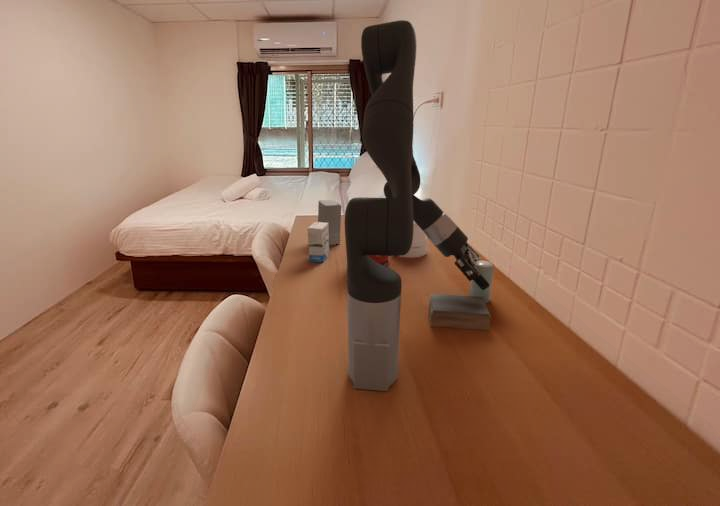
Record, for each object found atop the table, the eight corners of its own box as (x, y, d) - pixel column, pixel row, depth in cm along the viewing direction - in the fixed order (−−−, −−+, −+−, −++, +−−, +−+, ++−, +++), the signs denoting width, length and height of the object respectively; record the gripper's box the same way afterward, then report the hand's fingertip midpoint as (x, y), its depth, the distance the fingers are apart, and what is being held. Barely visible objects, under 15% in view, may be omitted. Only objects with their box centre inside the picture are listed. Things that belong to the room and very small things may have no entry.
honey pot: (426, 258, 126) (430, 206, 120) (388, 256, 128) (390, 205, 122) (426, 246, 138) (429, 198, 132) (391, 244, 140) (393, 197, 134)
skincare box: (317, 240, 144) (315, 200, 139) (334, 238, 147) (333, 198, 142) (324, 247, 137) (323, 205, 132) (342, 244, 140) (341, 203, 134)
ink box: (322, 263, 122) (321, 229, 118) (308, 262, 123) (306, 228, 119) (330, 254, 130) (329, 222, 126) (316, 253, 131) (315, 221, 127)
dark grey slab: (488, 330, 84) (491, 314, 82) (430, 326, 85) (431, 310, 84) (481, 310, 92) (483, 296, 91) (428, 307, 94) (429, 293, 92)
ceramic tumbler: (491, 304, 95) (496, 268, 92) (471, 302, 96) (475, 267, 93) (487, 295, 100) (492, 260, 97) (468, 294, 101) (472, 259, 97)
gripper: (454, 233, 87) (499, 284, 88) (458, 218, 100) (497, 262, 101) (430, 252, 90) (474, 300, 91) (436, 235, 103) (475, 278, 104)
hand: (486, 280), depth 96 cm, fingers open, 8 cm apart
